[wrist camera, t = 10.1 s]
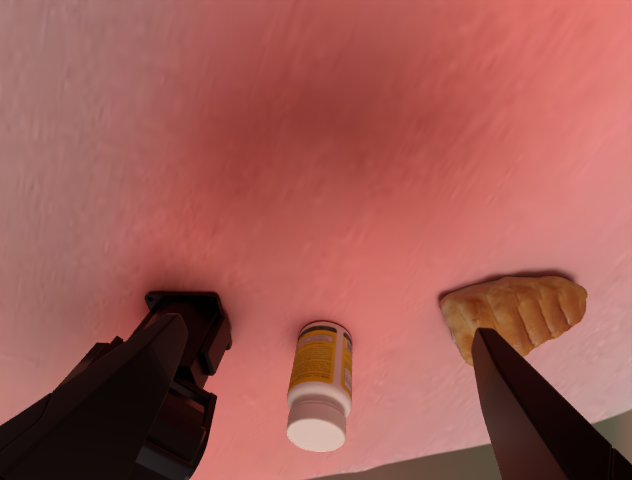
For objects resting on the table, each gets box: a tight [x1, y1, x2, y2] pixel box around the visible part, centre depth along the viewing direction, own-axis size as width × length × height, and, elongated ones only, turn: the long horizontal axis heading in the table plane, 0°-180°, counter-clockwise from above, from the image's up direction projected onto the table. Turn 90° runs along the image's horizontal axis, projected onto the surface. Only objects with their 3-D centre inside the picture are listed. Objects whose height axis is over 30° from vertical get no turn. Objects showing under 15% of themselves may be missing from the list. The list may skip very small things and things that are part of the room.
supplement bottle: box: [287, 322, 352, 452], centre depth 25 cm, size 5×5×8 cm
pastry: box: [440, 276, 587, 366], centre depth 23 cm, size 9×7×4 cm
